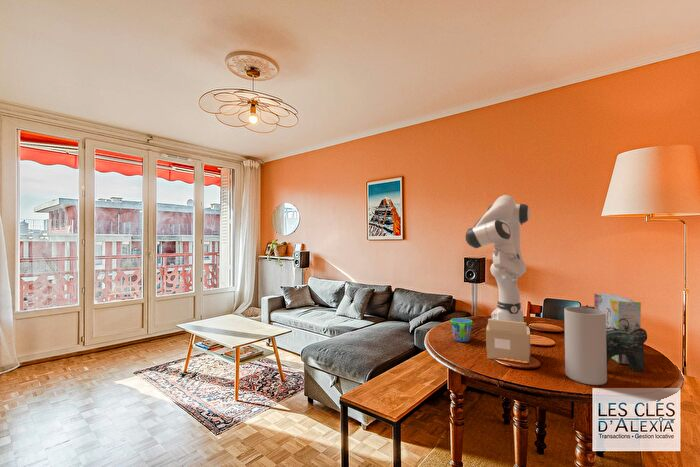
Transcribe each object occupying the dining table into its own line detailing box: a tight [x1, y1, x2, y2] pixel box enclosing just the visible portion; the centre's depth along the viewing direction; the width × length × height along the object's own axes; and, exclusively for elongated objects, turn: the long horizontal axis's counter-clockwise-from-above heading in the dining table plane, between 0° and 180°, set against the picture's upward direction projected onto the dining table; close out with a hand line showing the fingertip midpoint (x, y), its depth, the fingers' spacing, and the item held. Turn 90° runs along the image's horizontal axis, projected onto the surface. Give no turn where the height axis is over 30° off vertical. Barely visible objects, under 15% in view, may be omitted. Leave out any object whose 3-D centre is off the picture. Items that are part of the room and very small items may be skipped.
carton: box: [485, 323, 531, 363], centre depth 146 cm, size 15×17×12 cm
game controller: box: [606, 319, 648, 372], centre depth 129 cm, size 20×6×20 cm, turn 91°
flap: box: [487, 318, 527, 334], centre depth 137 cm, size 9×14×1 cm
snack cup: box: [450, 317, 473, 343], centre depth 168 cm, size 16×10×10 cm
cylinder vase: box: [563, 306, 608, 386], centre depth 122 cm, size 12×12×25 cm
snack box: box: [593, 292, 642, 365], centre depth 144 cm, size 22×9×26 cm, turn 166°
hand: (510, 281), depth 148 cm, fingers open, 8 cm apart
